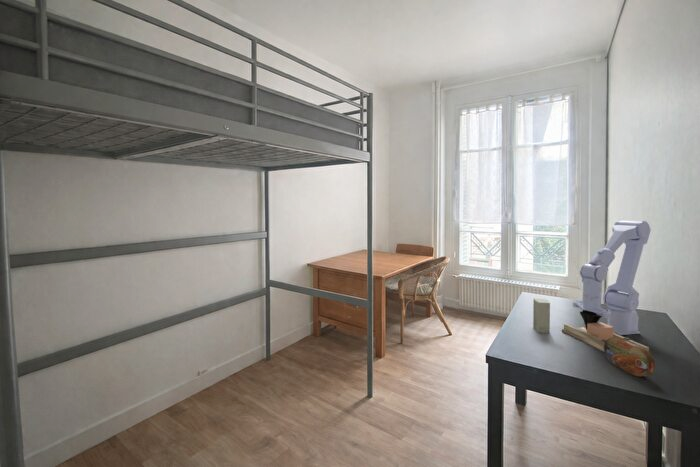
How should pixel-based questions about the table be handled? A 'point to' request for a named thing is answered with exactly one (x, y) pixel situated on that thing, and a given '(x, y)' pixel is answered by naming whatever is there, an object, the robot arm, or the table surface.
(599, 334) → the block
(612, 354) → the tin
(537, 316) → the skincare box
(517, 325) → the table surface
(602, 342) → the chute
